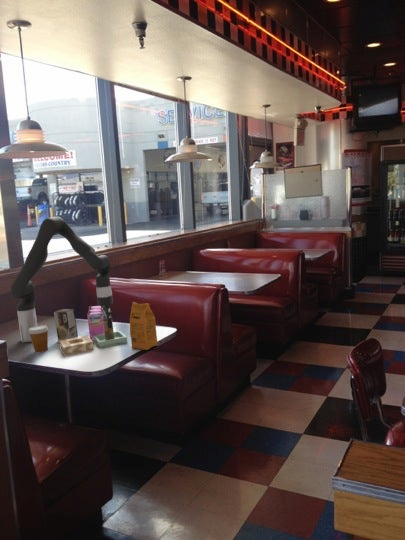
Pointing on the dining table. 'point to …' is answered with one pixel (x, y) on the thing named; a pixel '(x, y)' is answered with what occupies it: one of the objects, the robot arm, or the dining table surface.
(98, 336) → the tray
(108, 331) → the pin
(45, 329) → the disposable coffee cup
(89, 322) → the gum box
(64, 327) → the coffee box
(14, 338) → the dining table surface
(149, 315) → the coffee package
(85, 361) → the dining table surface
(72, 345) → the wooden square frame
